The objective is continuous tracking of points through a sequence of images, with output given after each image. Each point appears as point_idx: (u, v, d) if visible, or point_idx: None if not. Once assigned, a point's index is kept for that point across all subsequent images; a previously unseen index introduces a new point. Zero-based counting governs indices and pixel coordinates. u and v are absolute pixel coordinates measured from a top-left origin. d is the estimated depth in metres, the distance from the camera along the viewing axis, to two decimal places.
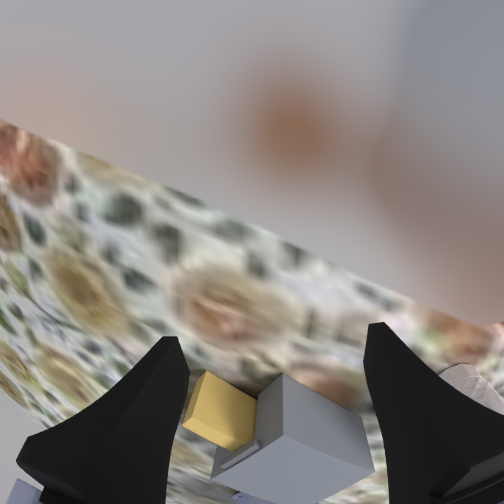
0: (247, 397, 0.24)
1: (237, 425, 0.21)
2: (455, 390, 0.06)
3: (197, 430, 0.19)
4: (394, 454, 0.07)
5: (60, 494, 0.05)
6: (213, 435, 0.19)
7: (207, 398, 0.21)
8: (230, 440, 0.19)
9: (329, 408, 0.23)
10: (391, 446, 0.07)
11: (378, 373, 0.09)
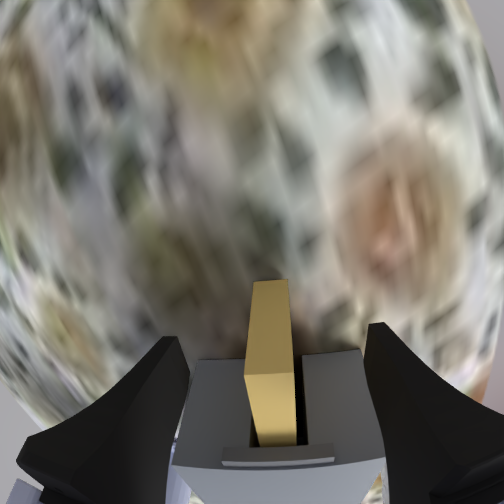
0: None
1: None
2: (455, 390, 0.06)
3: (260, 397, 0.09)
4: (394, 454, 0.07)
5: (60, 494, 0.05)
6: (275, 414, 0.10)
7: None
8: (287, 430, 0.10)
9: None
10: (391, 446, 0.07)
11: (378, 373, 0.09)
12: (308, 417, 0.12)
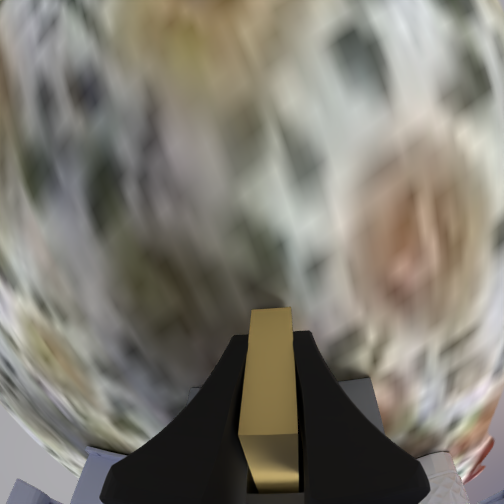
0: None
1: None
2: (356, 412, 0.06)
3: (258, 453, 0.07)
4: (304, 467, 0.07)
5: None
6: (274, 467, 0.08)
7: None
8: (288, 479, 0.08)
9: None
10: None
11: (296, 383, 0.09)
12: None
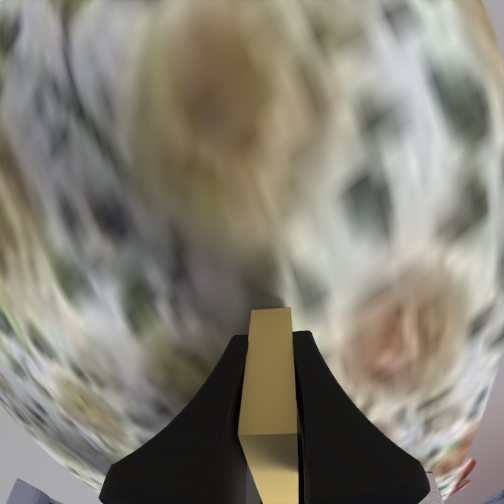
0: None
1: None
2: (356, 412, 0.06)
3: (258, 453, 0.07)
4: (304, 467, 0.07)
5: None
6: (274, 467, 0.08)
7: None
8: (288, 479, 0.08)
9: None
10: None
11: (296, 383, 0.09)
12: None
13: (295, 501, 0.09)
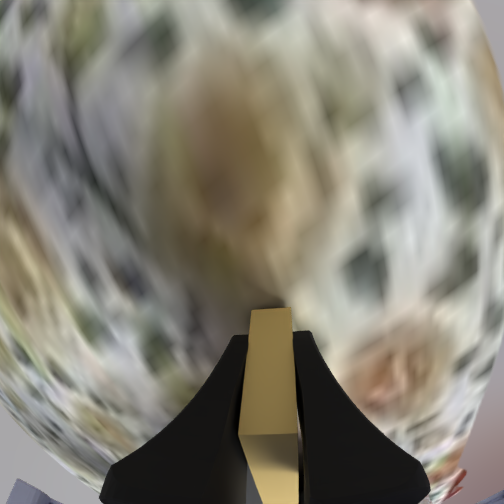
0: None
1: None
2: (356, 412, 0.06)
3: (258, 452, 0.07)
4: (304, 467, 0.07)
5: None
6: (274, 467, 0.08)
7: None
8: (288, 479, 0.08)
9: None
10: None
11: (296, 383, 0.09)
12: None
13: (295, 501, 0.09)
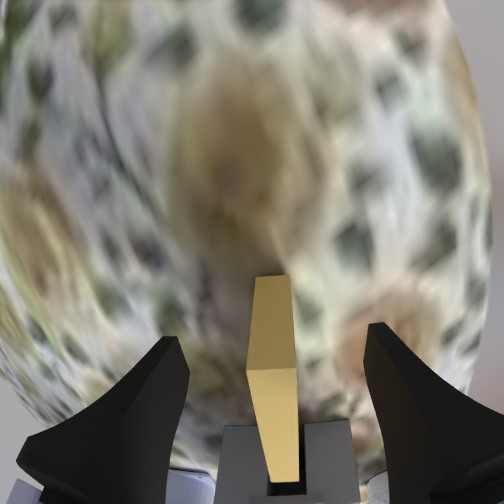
0: None
1: None
2: (455, 390, 0.06)
3: (263, 392, 0.09)
4: (394, 454, 0.07)
5: (60, 494, 0.05)
6: (277, 410, 0.10)
7: None
8: (289, 427, 0.10)
9: None
10: (391, 446, 0.07)
11: (378, 373, 0.09)
12: (307, 473, 0.15)
13: (296, 457, 0.11)
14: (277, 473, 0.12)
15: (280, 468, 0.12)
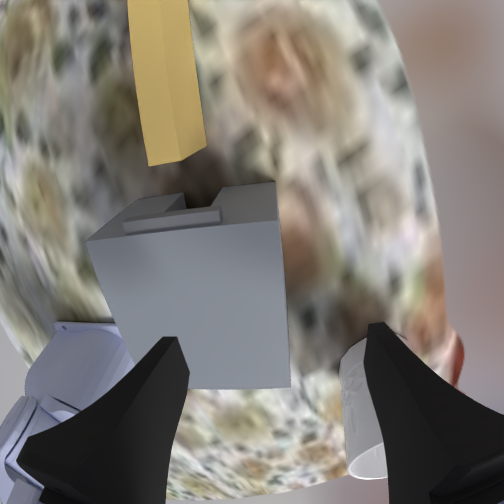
0: (192, 53, 0.14)
1: (172, 30, 0.11)
2: (455, 390, 0.06)
3: None
4: (394, 454, 0.07)
5: (60, 494, 0.05)
6: (143, 1, 0.09)
7: None
8: (153, 21, 0.10)
9: None
10: (391, 446, 0.07)
11: (378, 373, 0.09)
12: None
13: (166, 83, 0.11)
14: (152, 132, 0.12)
15: (153, 115, 0.11)
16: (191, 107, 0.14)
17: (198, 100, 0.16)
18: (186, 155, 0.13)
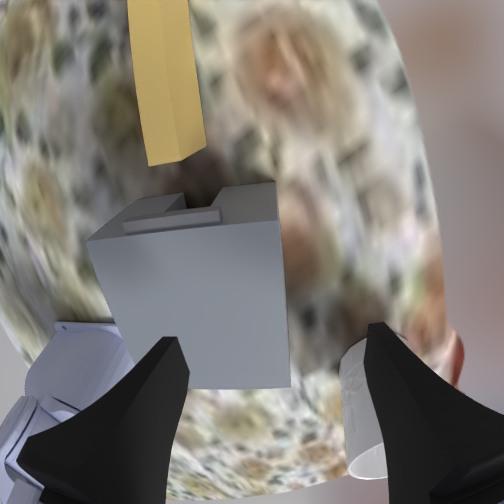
0: (192, 53, 0.14)
1: (172, 30, 0.11)
2: (455, 390, 0.06)
3: None
4: (394, 454, 0.07)
5: (60, 494, 0.05)
6: (143, 1, 0.09)
7: None
8: (153, 21, 0.10)
9: None
10: (391, 446, 0.07)
11: (378, 373, 0.09)
12: None
13: (165, 83, 0.11)
14: (152, 132, 0.12)
15: (153, 115, 0.11)
16: (191, 107, 0.14)
17: (198, 100, 0.16)
18: (186, 155, 0.13)
